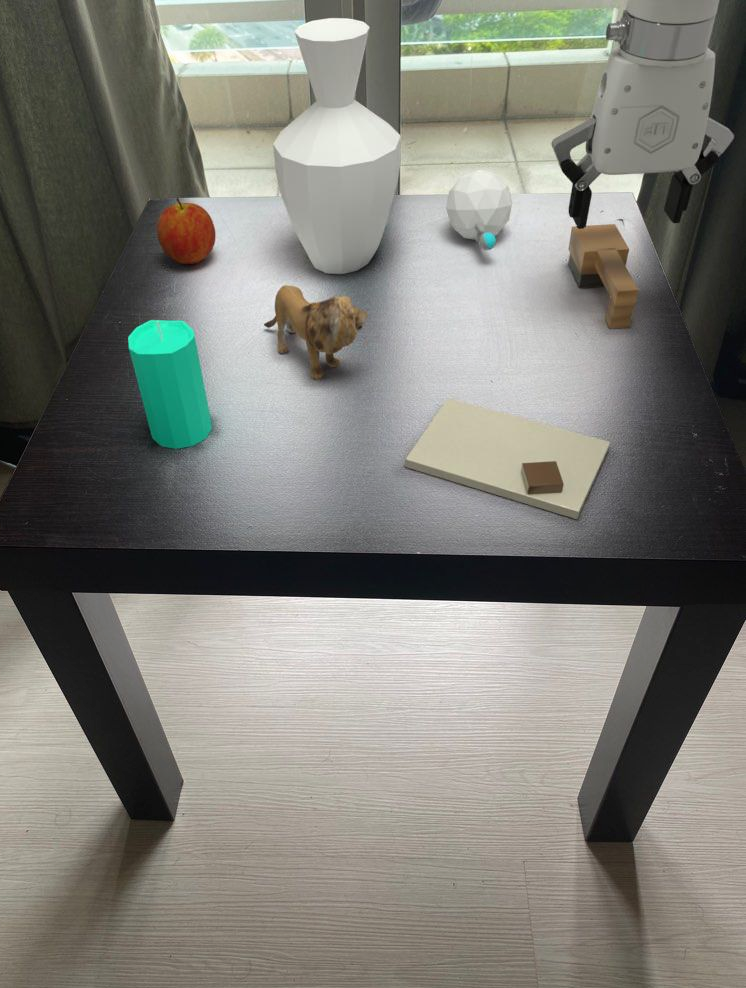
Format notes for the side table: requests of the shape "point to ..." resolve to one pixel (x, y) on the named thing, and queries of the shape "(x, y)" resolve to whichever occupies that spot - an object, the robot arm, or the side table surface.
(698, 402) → the side table surface
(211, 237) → the fruit
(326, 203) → the vase
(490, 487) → the tile
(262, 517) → the side table surface
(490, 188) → the perfume bottle
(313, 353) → the lion figurine
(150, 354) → the candle
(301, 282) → the side table surface
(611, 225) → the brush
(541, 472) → the mud flake
